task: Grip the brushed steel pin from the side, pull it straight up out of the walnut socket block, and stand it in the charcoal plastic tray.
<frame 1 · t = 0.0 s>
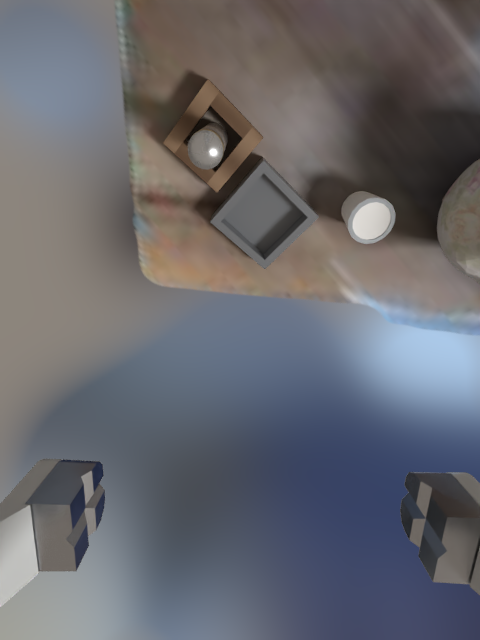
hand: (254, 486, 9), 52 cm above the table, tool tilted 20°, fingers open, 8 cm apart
steel pin: (210, 143, 45), in the socket block
shot glass: (358, 208, 56), on the table
socket block: (214, 138, 51), on the table
ceramic pitcher: (476, 207, 56), on the table
tray: (263, 213, 57), on the table
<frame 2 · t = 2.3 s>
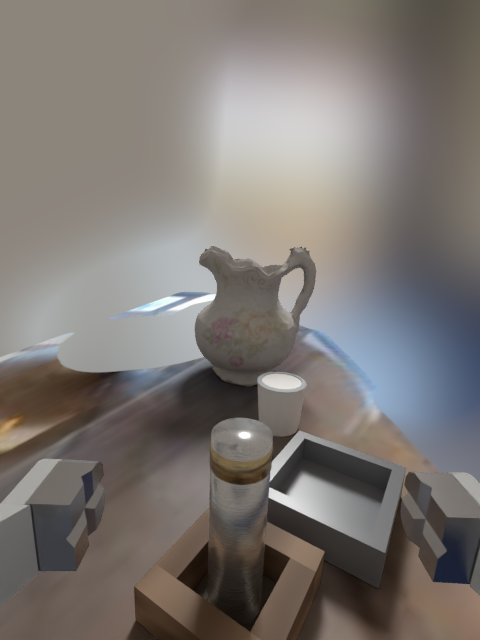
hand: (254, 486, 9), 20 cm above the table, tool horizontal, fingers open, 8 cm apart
steel pin: (237, 522, 24), in the socket block
shot glass: (278, 426, 50), on the table
socket block: (234, 599, 26), on the table
ceramic pitcher: (249, 374, 68), on the table
tray: (328, 507, 35), on the table
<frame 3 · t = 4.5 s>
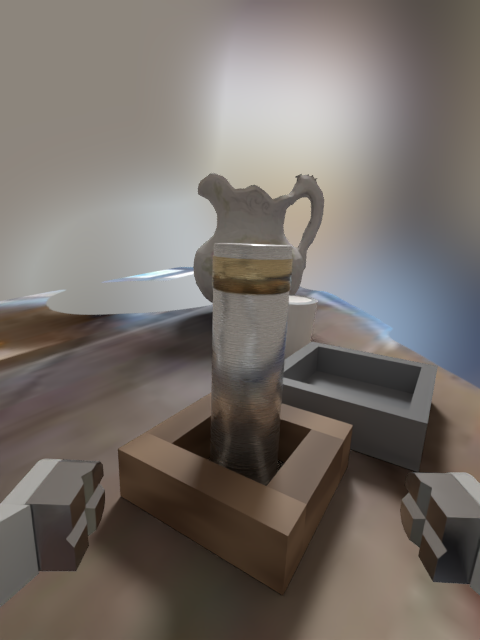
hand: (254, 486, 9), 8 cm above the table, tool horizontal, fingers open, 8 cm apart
steel pin: (247, 372, 19), in the socket block
shot glass: (286, 352, 45), on the table
socket block: (242, 479, 21), on the table
ceramic pitcher: (253, 317, 63), on the table
tray: (349, 408, 30), on the table
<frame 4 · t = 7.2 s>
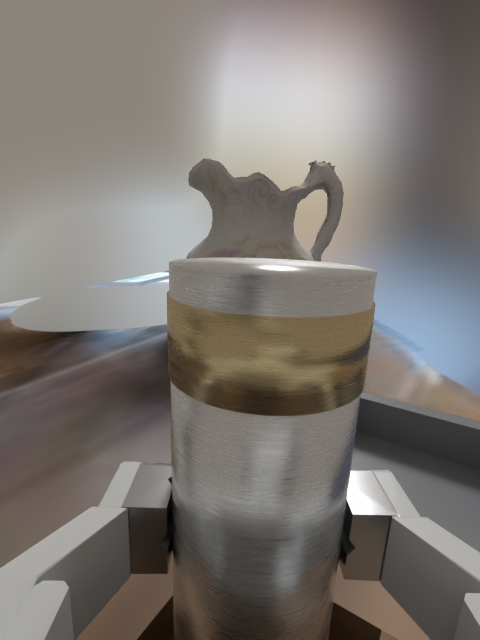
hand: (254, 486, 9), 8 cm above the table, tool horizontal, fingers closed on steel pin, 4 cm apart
steel pin: (254, 547, 9), in the socket block, touching gripper
ceramic pitcher: (255, 335, 52), on the table
tray: (407, 505, 20), on the table
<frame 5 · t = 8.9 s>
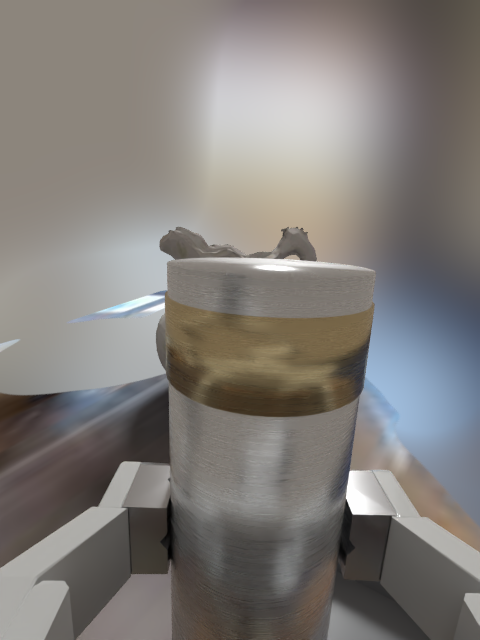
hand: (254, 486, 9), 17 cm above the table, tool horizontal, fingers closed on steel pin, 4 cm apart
steel pin: (252, 548, 9), point 16 cm above the table, touching gripper
ceramic pitcher: (230, 394, 52), on the table
when the fingers open (10 cm above the table, at t = 11.1 s): steel pin stays where it is, resting on tray.
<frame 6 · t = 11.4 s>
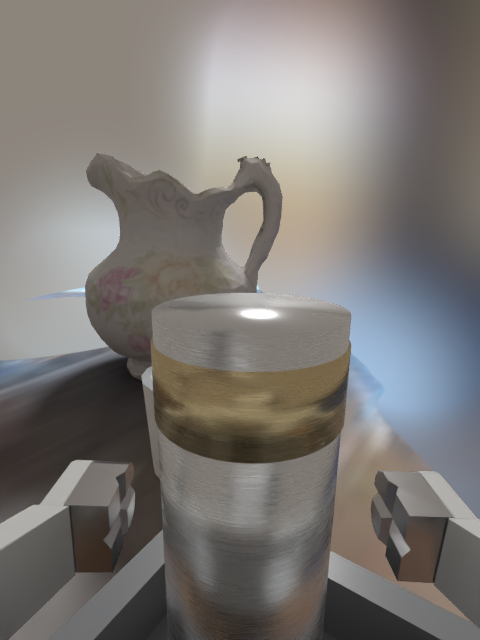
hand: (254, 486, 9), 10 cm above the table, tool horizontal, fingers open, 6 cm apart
steel pin: (245, 575, 9), in the tray, point 8 cm above the table
shot glass: (192, 463, 25), on the table
ceramic pitcher: (183, 366, 44), on the table
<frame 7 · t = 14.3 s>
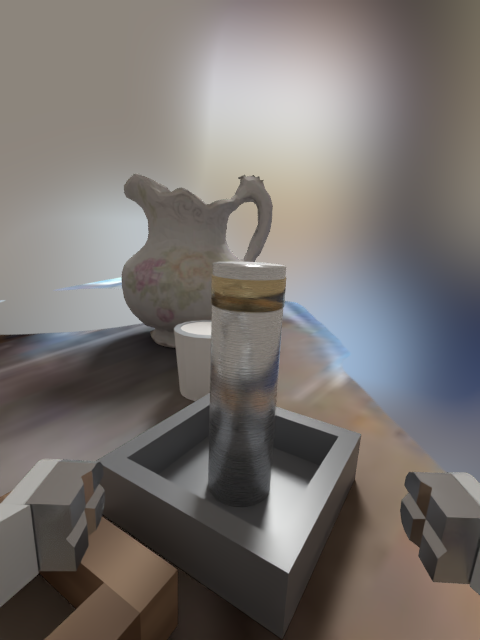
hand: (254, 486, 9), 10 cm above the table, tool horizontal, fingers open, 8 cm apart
steel pin: (243, 382, 21), in the tray, point 8 cm above the table
shot glass: (206, 391, 37), on the table
ceramic pitcher: (195, 338, 55), on the table
tray: (238, 493, 22), on the table
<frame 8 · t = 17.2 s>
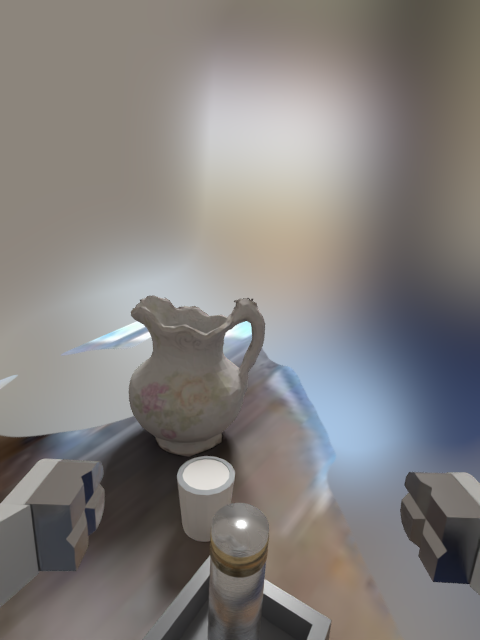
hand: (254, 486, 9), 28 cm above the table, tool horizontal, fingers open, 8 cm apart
steel pin: (235, 601, 26), in the tray, point 8 cm above the table
shot glass: (205, 523, 42), on the table
ceramic pitcher: (195, 435, 61), on the table
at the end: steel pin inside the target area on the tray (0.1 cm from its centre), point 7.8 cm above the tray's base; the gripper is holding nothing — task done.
